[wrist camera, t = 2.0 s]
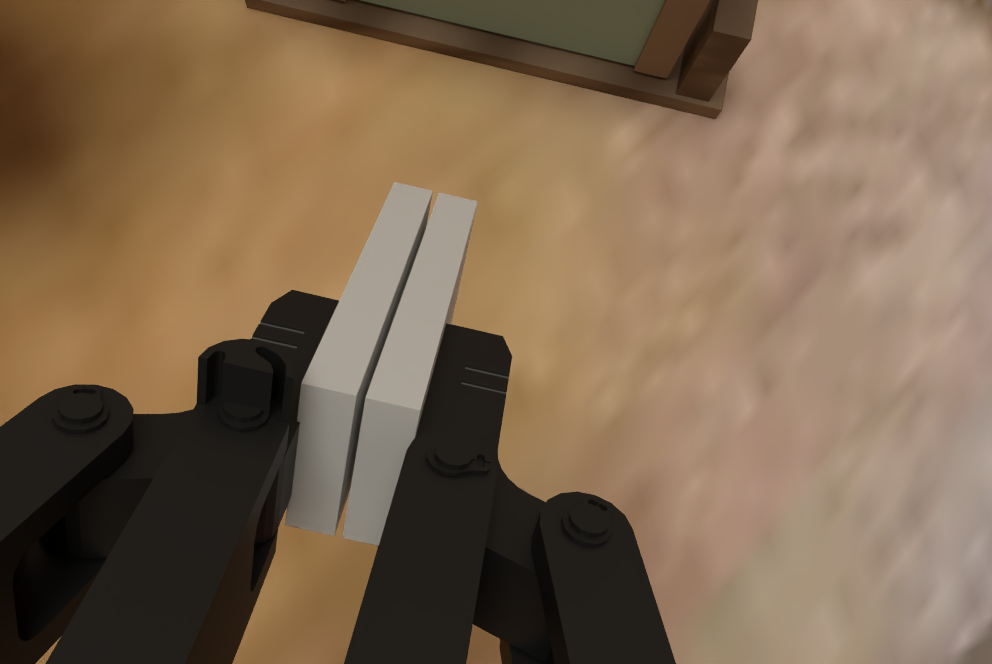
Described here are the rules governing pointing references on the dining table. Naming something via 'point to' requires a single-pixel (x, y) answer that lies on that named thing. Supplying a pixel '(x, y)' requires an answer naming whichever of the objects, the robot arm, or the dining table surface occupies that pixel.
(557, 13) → the gate
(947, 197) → the dining table surface
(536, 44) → the gate frame
